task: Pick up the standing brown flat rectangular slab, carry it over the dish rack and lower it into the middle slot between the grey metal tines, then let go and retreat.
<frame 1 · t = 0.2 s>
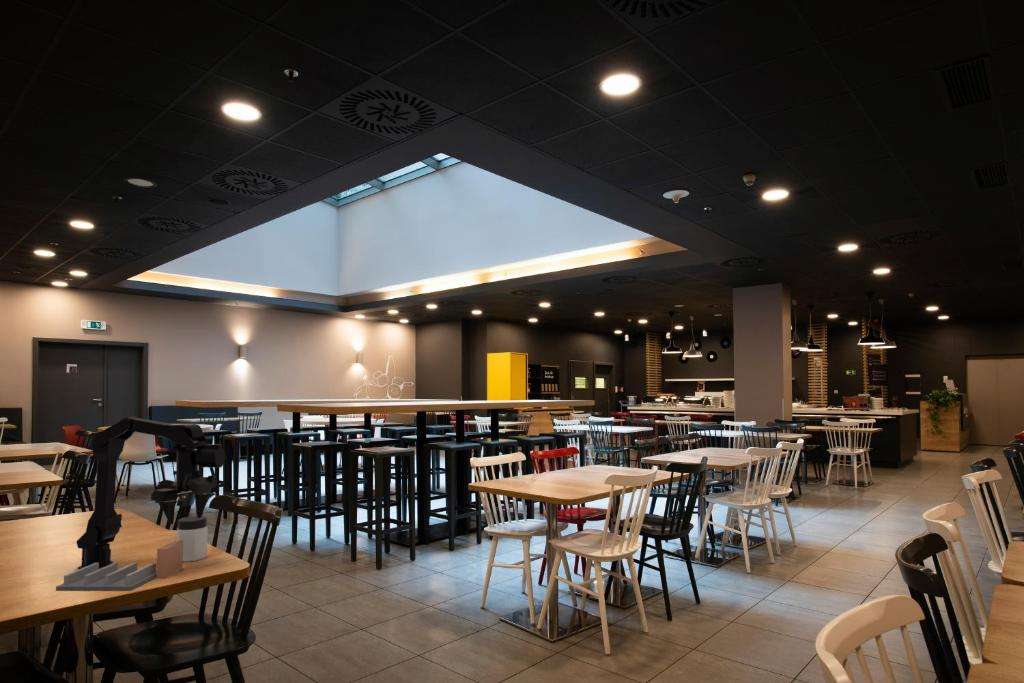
hand: (185, 521, 185), 13 cm above the table, fingers open, 9 cm apart
jar: (191, 558, 195), on the table
rack: (111, 582, 171), on the table
brown flat rectangular slab: (169, 573, 179), on the table
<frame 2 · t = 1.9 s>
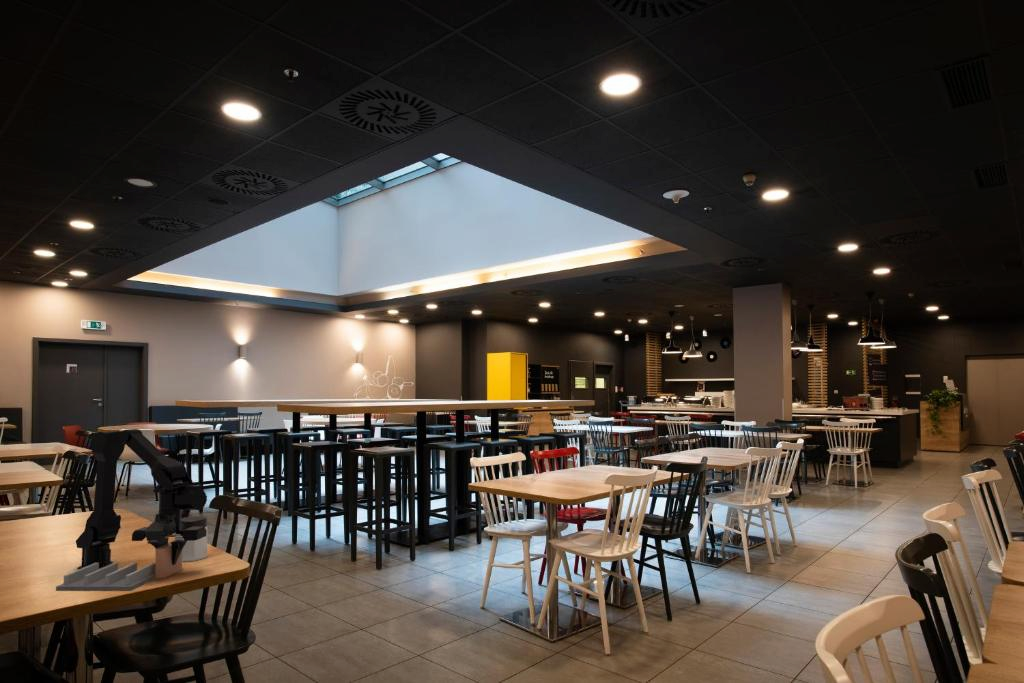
hand: (168, 564, 179), 2 cm above the table, fingers closed on brown flat rectangular slab, 2 cm apart
brown flat rectangular slab: (169, 573, 179), on the table, touching gripper, rack
everything else where it was.
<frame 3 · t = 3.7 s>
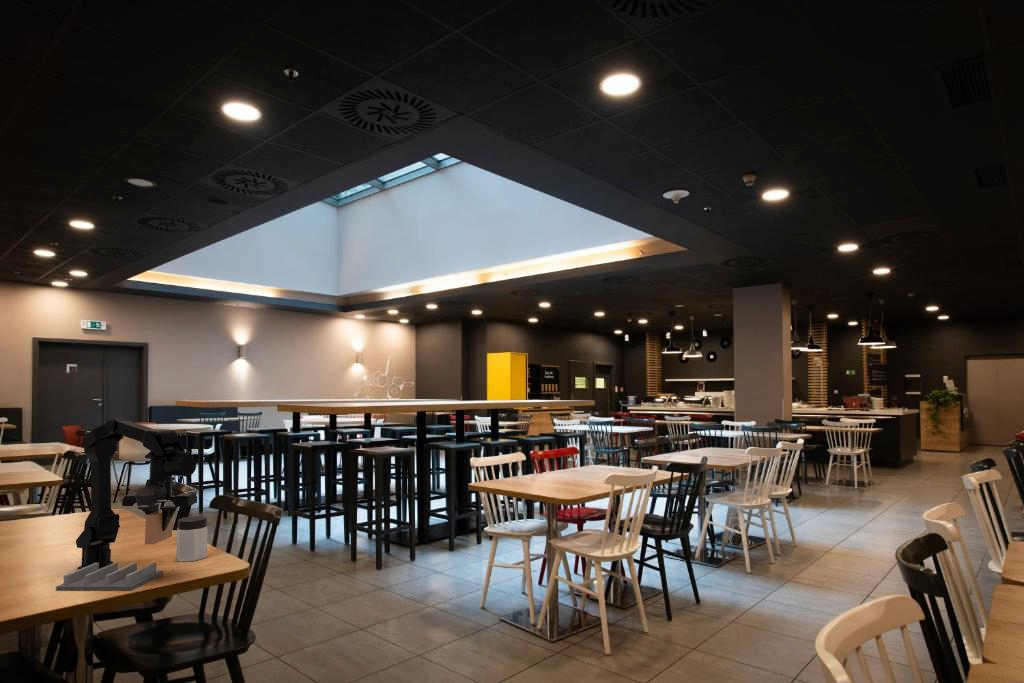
hand: (158, 530, 178), 12 cm above the table, fingers closed on brown flat rectangular slab, 2 cm apart
brown flat rectangular slab: (158, 540, 178), point 10 cm above the table, touching gripper
everything else where it was.
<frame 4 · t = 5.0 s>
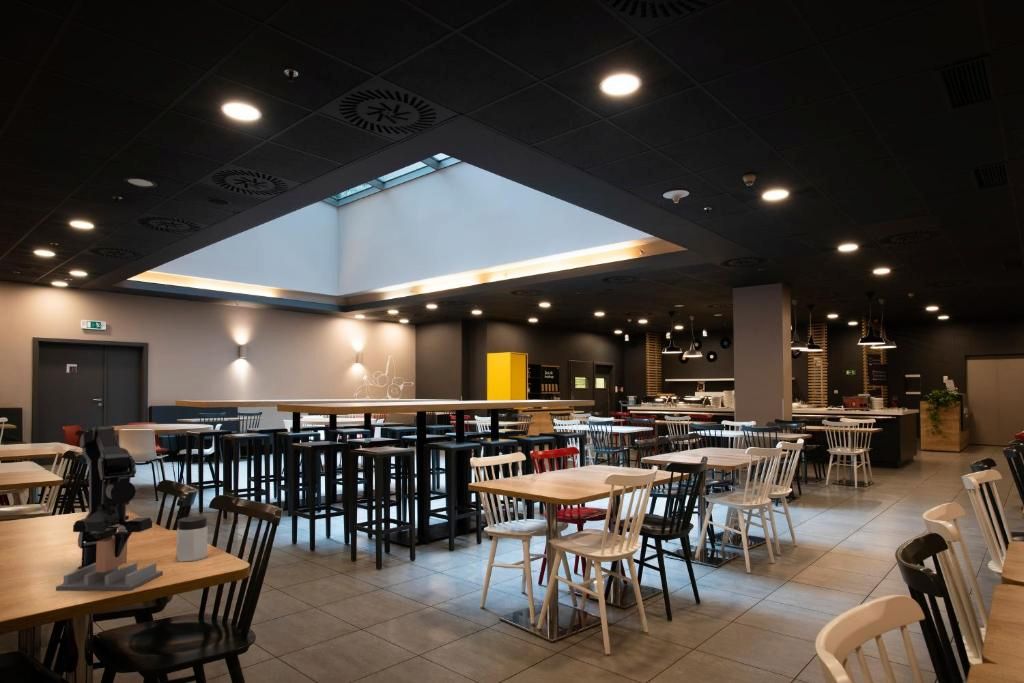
hand: (112, 557, 172), 7 cm above the table, fingers closed on brown flat rectangular slab, 2 cm apart
brown flat rectangular slab: (111, 567, 172), point 4 cm above the table, touching gripper
everything else where it was.
when the fingers open (4 cm above the table, at t = 5.6 s): brown flat rectangular slab stays where it is, resting on rack.
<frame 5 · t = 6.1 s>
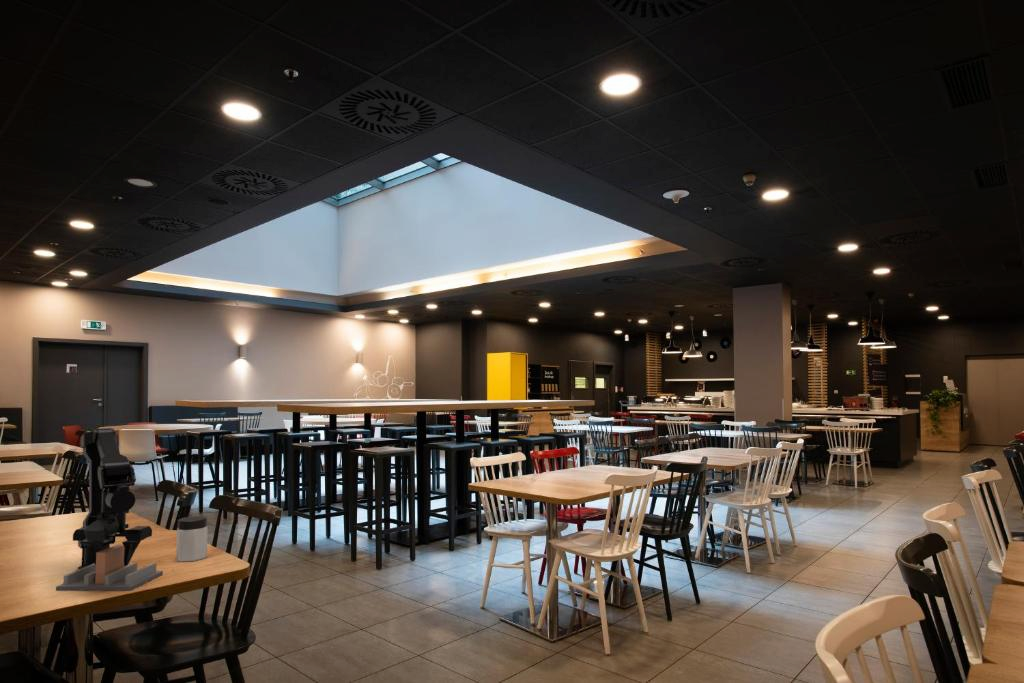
hand: (111, 565, 172), 4 cm above the table, fingers open, 8 cm apart
brown flat rectangular slab: (111, 578, 171), point 1 cm above the table, touching rack
everything else where it was.
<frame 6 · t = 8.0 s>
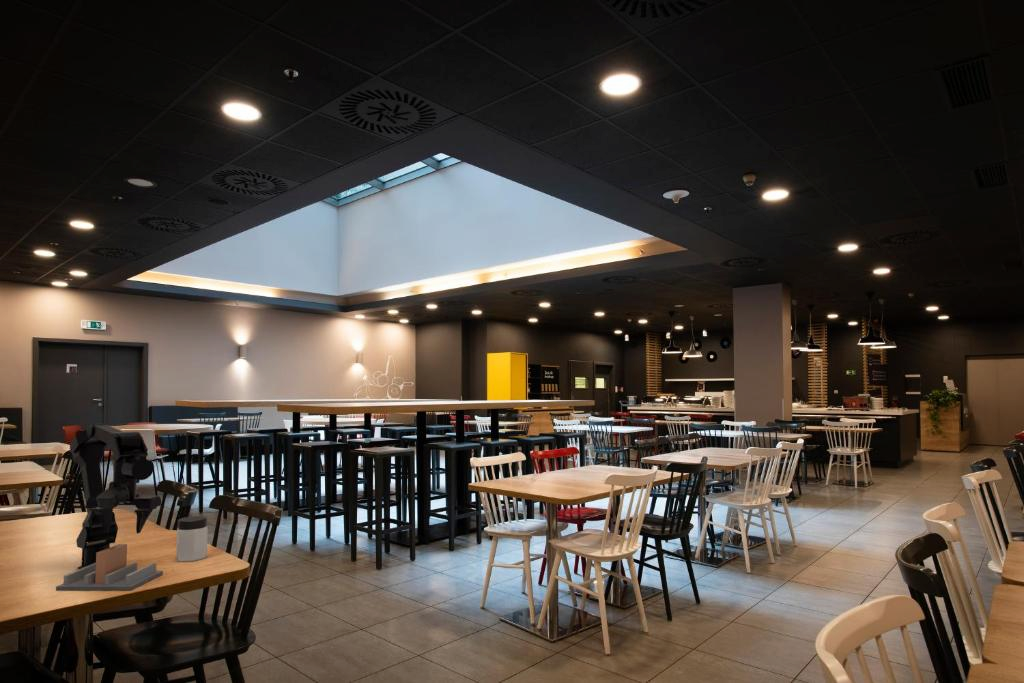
hand: (122, 532, 178), 12 cm above the table, fingers open, 9 cm apart
nothing on the table moved.
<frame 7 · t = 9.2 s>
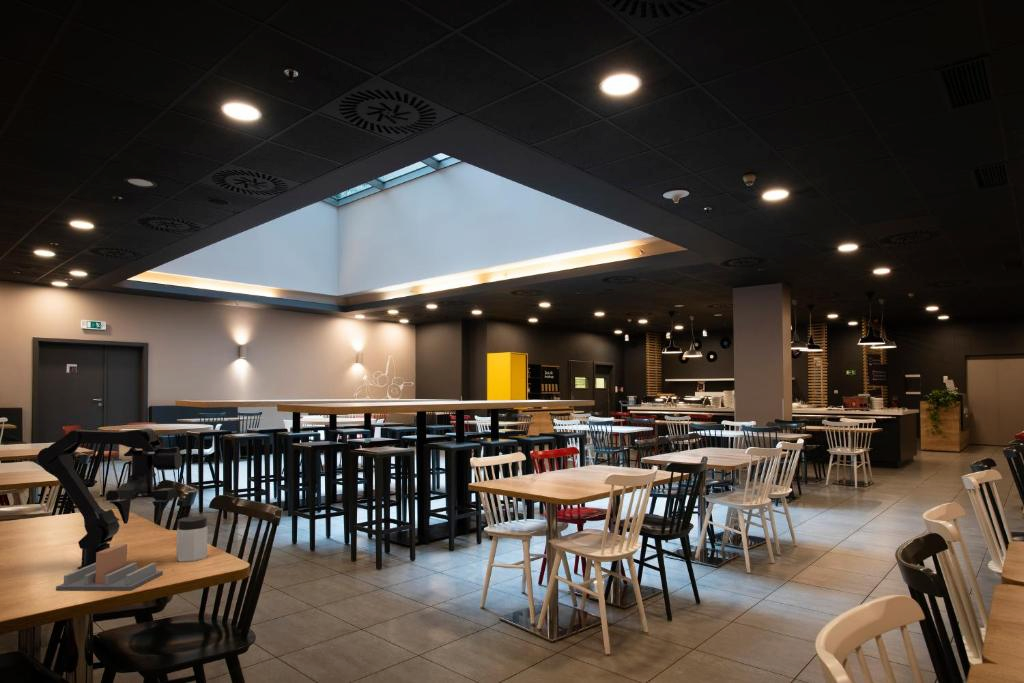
hand: (140, 523, 189), 12 cm above the table, fingers open, 9 cm apart
nothing on the table moved.
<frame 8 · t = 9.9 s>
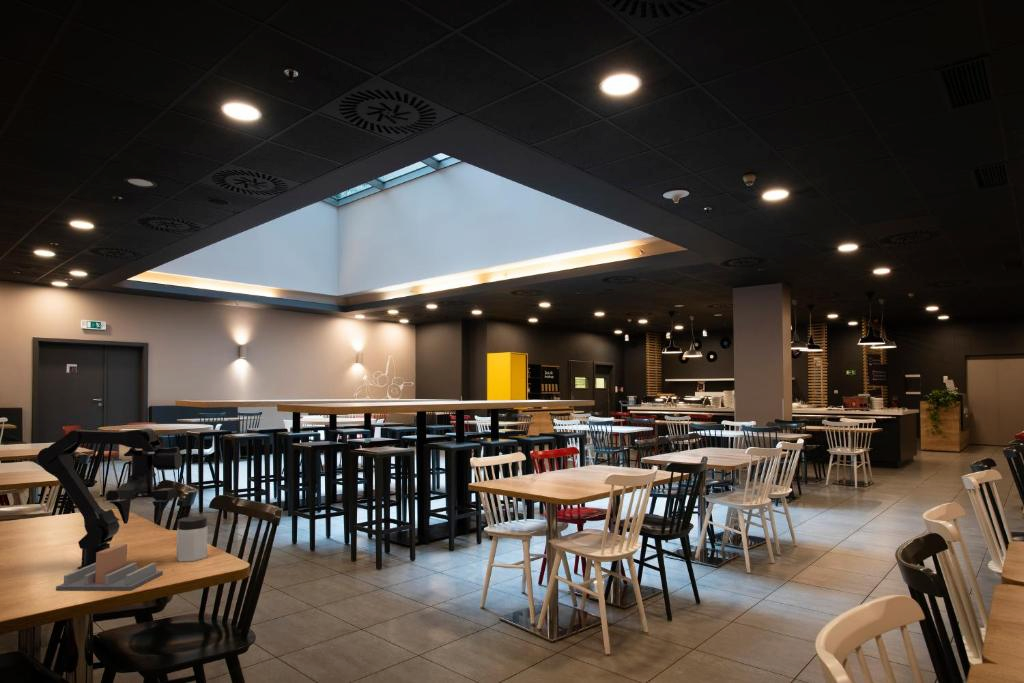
hand: (140, 523, 189), 12 cm above the table, fingers open, 9 cm apart
nothing on the table moved.
at the end: brown flat rectangular slab 0.1 cm off-centre on the rack, point 1.0 cm above the rack's base; brown flat rectangular slab tilted 0°; the gripper is holding nothing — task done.
